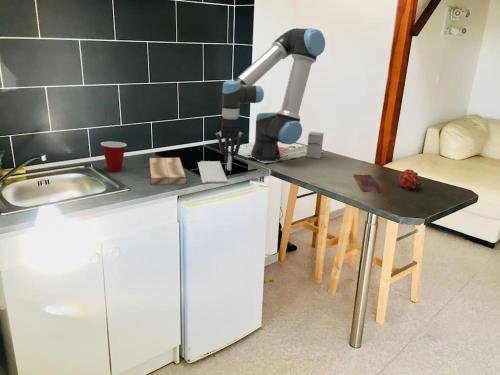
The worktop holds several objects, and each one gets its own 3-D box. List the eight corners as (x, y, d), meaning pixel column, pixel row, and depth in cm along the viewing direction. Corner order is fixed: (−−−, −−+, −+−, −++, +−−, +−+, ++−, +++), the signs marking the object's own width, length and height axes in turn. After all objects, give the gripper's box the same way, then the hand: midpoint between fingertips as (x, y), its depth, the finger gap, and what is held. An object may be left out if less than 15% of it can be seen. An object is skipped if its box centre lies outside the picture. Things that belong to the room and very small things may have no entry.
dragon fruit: (404, 186, 192) (412, 199, 181) (391, 175, 190) (398, 187, 179) (418, 173, 189) (427, 185, 178) (405, 161, 186) (413, 173, 176)
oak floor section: (179, 163, 203) (179, 157, 202) (186, 183, 176) (186, 176, 175) (149, 164, 200) (149, 158, 199) (151, 184, 172) (151, 177, 171)
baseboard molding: (198, 184, 177) (227, 184, 179) (199, 178, 176) (227, 178, 178) (194, 164, 206) (219, 164, 208) (194, 158, 205) (219, 158, 207)
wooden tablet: (351, 171, 201) (372, 170, 200) (351, 176, 202) (372, 175, 201) (362, 190, 176) (387, 189, 175) (362, 195, 176) (387, 194, 176)
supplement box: (305, 157, 226) (308, 133, 222) (307, 154, 233) (310, 131, 229) (319, 158, 225) (322, 135, 220) (321, 155, 231) (323, 132, 227)
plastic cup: (131, 170, 189) (130, 144, 185) (108, 174, 183) (106, 147, 179) (122, 164, 197) (120, 139, 193) (98, 168, 191) (96, 141, 187)
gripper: (243, 116, 192) (241, 166, 199) (214, 116, 188) (213, 167, 196) (247, 119, 185) (244, 171, 192) (217, 119, 182) (216, 172, 189)
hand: (228, 169), depth 194 cm, fingers closed
